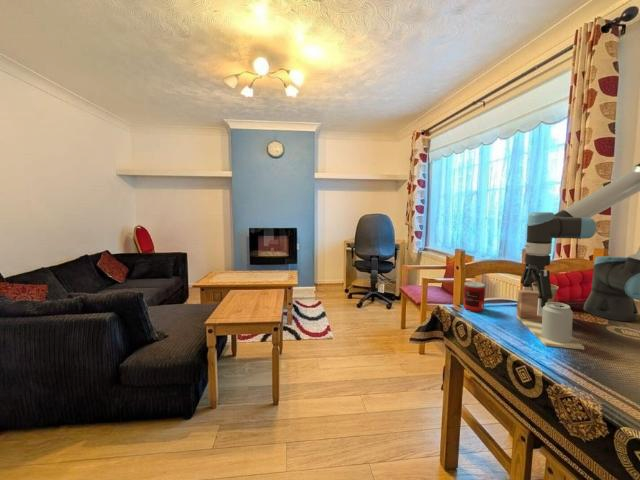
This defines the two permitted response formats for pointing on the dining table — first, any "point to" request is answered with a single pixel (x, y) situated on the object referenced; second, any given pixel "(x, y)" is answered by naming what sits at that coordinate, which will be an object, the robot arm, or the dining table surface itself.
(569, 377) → the dining table surface
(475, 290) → the canned food
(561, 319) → the can
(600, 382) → the dining table surface
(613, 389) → the dining table surface
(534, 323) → the wooden bracket
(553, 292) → the flower pot
